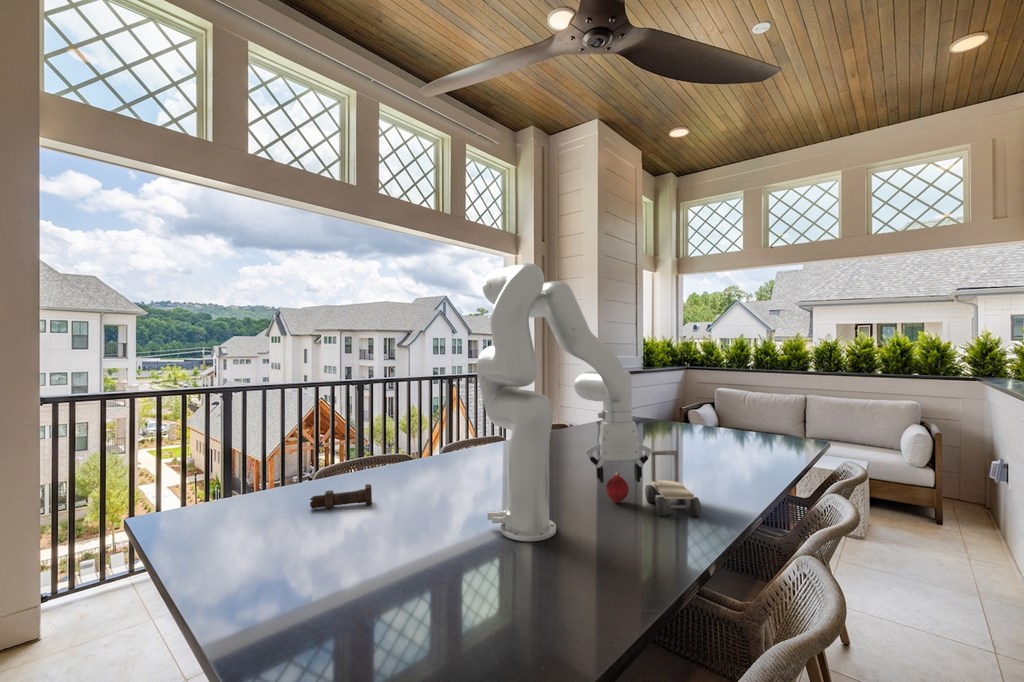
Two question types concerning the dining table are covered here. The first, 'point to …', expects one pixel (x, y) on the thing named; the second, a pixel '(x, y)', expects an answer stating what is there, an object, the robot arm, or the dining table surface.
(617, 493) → the onion
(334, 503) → the bolt
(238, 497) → the dining table surface
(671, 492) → the trolley
